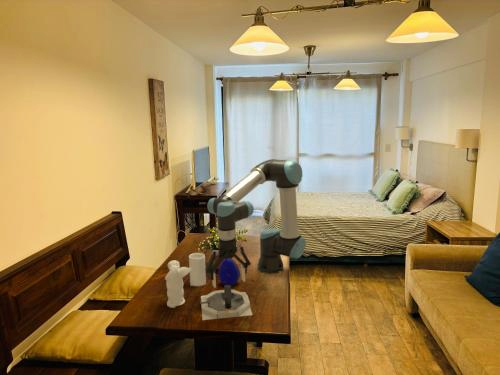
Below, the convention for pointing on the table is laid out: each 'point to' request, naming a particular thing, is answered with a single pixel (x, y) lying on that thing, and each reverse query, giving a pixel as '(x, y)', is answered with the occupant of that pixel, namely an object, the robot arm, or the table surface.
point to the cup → (197, 269)
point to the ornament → (229, 272)
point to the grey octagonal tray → (214, 314)
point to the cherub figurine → (175, 283)
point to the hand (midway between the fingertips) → (229, 283)
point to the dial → (225, 300)
